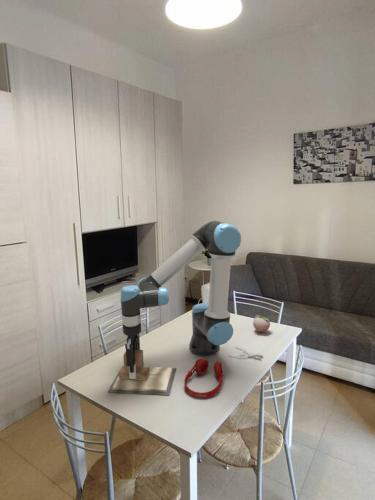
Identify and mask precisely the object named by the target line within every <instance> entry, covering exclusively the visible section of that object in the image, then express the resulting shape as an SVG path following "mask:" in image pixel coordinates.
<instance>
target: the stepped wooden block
mask: <svg viewBox="0 0 375 500" xmlns="http://www.w3.org/2000/svg"><path fill="white" fill-rule="evenodd" d="M122 356H123V365H121V367H120V369H119V371H118V373H119V379H130V378H129V366H127V365H126V364H127V361H126V351H124V353H123V355H122ZM144 363H145V362H144V350H143V349H140V350H135V364H136V379H131V380H147V379H148V376H149V374H150V370H149V367H150V366H144Z"/></svg>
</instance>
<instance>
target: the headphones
mask: <svg viewBox="0 0 375 500" xmlns="http://www.w3.org/2000/svg"><path fill="white" fill-rule="evenodd" d="M209 362H210V361H208V359H207V358H202V357H201V358H198V359H197V360H196V361H195V363H194V365H193V366H192V368H191V369H190V370H188V372H187V374H186V375H185V378H184V381H183V384H184V388H185V392H186V393H187V394H188V395H189V396H191V397H193V398H196V399H209V398H212V397H214V396H215V395H217V394H218V393H219V391H220V389H221V387H222V386H223V385H222V384H223V383H224V382H223V381H224V378H225V375H224V372H223V365H222V362H221V361H217V360H216V361H214V362H213V371H214V377H215V378H216V379H218V384H217V386H216V387H214V388H213V389H211V390H210V391H204V392H198V391H194V390H192V389H190V388H189V387H188V385H187V383H188V381H189V380H190V378H192V377H193V375H194V373H196V374H197V375H198V376H199V375H200V376H202V375H204V374H206V373H207V371H208V369H209V366H210V363H209Z"/></svg>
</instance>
